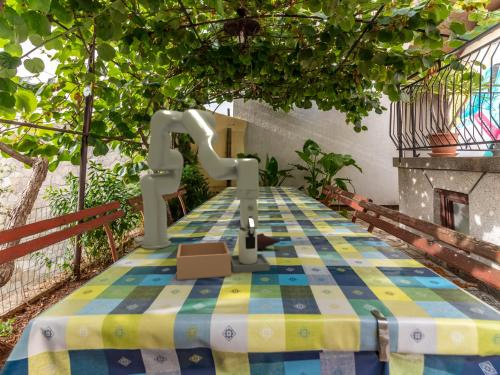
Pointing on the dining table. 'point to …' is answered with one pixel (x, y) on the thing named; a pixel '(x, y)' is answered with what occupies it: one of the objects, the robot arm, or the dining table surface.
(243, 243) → the can
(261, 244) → the icecream
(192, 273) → the brown square frame
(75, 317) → the dining table surface
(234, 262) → the tray
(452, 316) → the dining table surface
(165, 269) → the dining table surface
